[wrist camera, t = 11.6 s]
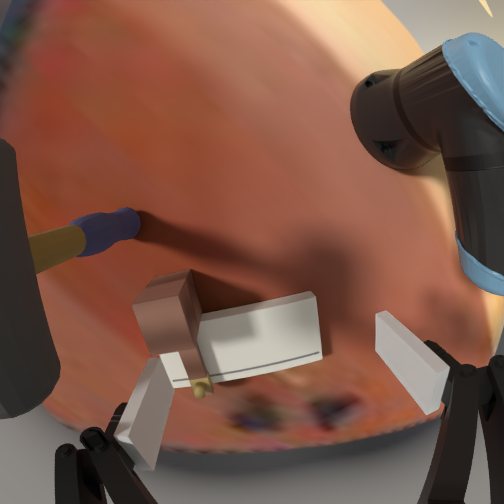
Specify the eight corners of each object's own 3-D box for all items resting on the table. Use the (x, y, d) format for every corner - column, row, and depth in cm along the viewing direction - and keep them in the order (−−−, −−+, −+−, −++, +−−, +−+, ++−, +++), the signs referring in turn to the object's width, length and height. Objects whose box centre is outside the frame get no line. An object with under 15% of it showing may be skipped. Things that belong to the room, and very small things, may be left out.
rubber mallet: (99, 180, 32) (-108, 178, 3) (150, 169, 33) (-56, 113, 3) (113, 272, 35) (-47, 412, 5) (164, 265, 35) (31, 448, 6)
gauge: (154, 276, 35) (131, 304, 26) (190, 268, 36) (178, 295, 26) (190, 380, 39) (184, 424, 29) (222, 374, 39) (222, 420, 29)
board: (154, 322, 37) (150, 330, 34) (310, 290, 38) (316, 297, 35) (175, 378, 39) (173, 388, 36) (317, 350, 40) (322, 359, 37)
